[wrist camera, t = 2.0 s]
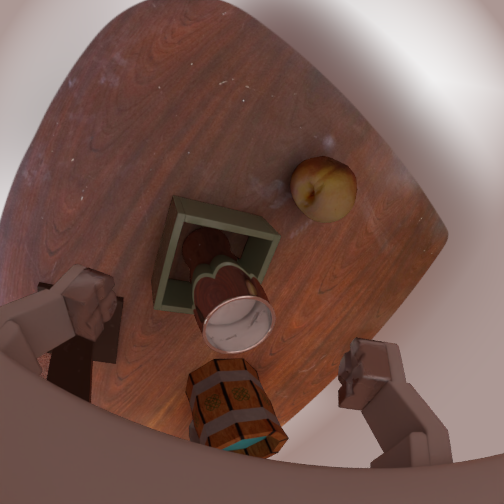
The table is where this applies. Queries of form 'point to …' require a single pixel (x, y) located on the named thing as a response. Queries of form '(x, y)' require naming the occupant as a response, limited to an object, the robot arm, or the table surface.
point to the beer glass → (225, 294)
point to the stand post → (83, 355)
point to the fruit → (323, 189)
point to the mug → (232, 410)
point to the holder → (191, 211)
